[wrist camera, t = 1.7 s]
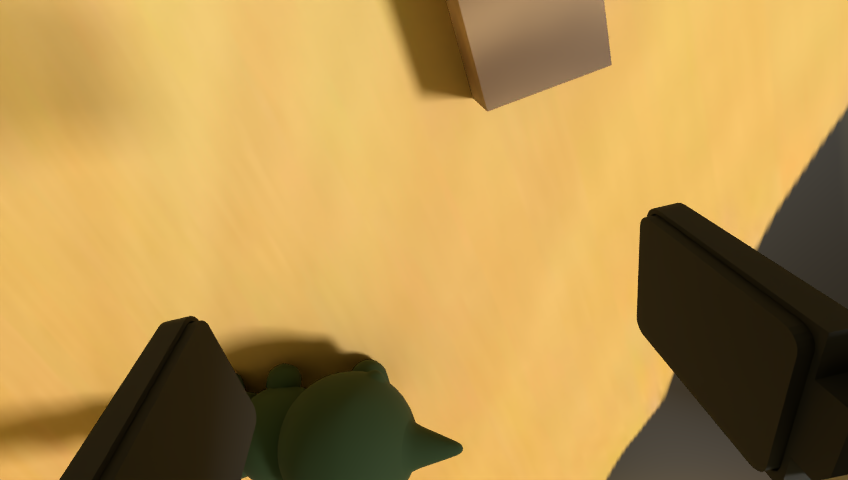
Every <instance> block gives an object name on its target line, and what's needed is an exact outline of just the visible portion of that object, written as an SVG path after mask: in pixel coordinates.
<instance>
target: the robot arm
mask: <svg viewBox="0 0 848 480" xmlns="http://www.w3.org/2000/svg"><path fill="white" fill-rule="evenodd" d="M637 322H638V326H639V328H640V330H641V332H642V334H643V335H644V336H645V338H646V339H647V340H648V341H649V342H650V344H651V345H652V346H653V347H654V348H655V350H656V351H657V352H658V353H659V355H660V356H661V357H662V358H663V359H664V361H665V362H666V363H667V364H668V365H669V367H670V368H671V369H672V370H673V372H674V373H675V374H676V375H677V376H678V378H679V379H680V380H681V381H682V382H683V383H684V385H685V386H686V387H687V389H689V391H690V392H691V393H692V395H693V396H694V397H695V398H696V399H697V401H698V402H699V403H700V404H701V405H702V407H703V408H704V409H705V410H706V412H707V413H708V414H709V415H710V416H711V418H712V419H713V420H714V421H715V423H716V424H717V425H718V426H719V427H720V429H721V430H722V431H723V432H724V433H725V435H726V436H727V437H728V438H729V439H730V441H731V442H732V443H733V444H734V445H735V447H736V448H737V449H738V450H739V451H740V453H741V454H742V455H743V456H744V458H745V459H746V460H747V461H748V462H749V464H750V465H751V466H752V467H753V468H755V469H756V470H758V471H760V472H763V471H765V472H766V473H767V474H768V475H769V477H770V478H771V479H772V480H848V309H846V308H845V307H843V306H842V305H840V304H838V303H837V302H836V301H834V300H832V299H831V298H829V297H828V296H826V295H825V294H823V293H821V292H820V291H818V290H816V289H815V288H814V287H812V286H810V285H809V284H807V283H806V282H804V281H803V280H801V279H800V278H798V277H796V276H795V275H793V274H792V273H790V272H789V271H787V270H785V269H784V268H782V267H781V266H779V265H778V264H776V263H775V262H773V261H772V260H770V259H768V258H767V257H765V256H764V255H762V254H761V253H759V252H758V251H756V250H754V249H753V248H751V247H750V246H748V245H747V244H745V243H744V242H742V241H740V240H739V239H737V238H736V237H734V236H733V235H731V234H730V233H728V232H726V231H725V230H723V229H722V228H720V227H719V226H717V225H715V224H714V223H712V222H711V221H709V220H708V219H706V218H705V217H703V216H701V215H700V214H698V213H697V212H695V211H694V210H692V209H691V208H689V207H687V206H686V205H684V204H682V203H675V204H671V205H667V206H663V207H658V208H654V209H651V210H650V211H649V212H648V215H647V217H645V218H643V219H642V220H641V224H640V244H639V271H638V299H637ZM255 425H256V411H255V407H254V405H253V403H252V402H251V400H250V398H249V396H248V395H247V393H246V391H245V389H244V387H243V386H242V384H241V382H240V380H239V379H238V377H237V375H236V373H235V371H234V370H233V368H232V366H231V364H230V363H229V361H228V359H227V357H226V355H225V354H224V352H223V350H222V348H221V347H220V345H219V343H218V341H217V339H216V338H215V336H214V334H213V332H212V331H211V329H210V327H209V325H208V324H207V323H206V322H205V321H199V320H198V319H197V318H195V317H193V316H189V317H184V318H180V319H176V320H171V321H167V322H164V323H162V324H161V325H160V326H159V327H158V329H157V330H156V332H155V334H154V335H153V337H152V338H151V340H150V341H149V343H148V344H147V346H146V347H145V349H144V351H143V352H142V354H141V355H140V357H139V358H138V360H137V361H136V363H135V364H134V366H133V367H132V369H131V371H130V372H129V374H128V375H127V377H126V378H125V380H124V381H123V383H122V384H121V386H120V387H119V389H118V391H117V392H116V394H115V395H114V397H113V398H112V400H111V401H110V403H109V404H108V406H107V407H106V409H105V411H104V412H103V414H102V415H101V417H100V418H99V420H98V421H97V423H96V424H95V426H94V427H93V429H92V431H91V432H90V434H89V435H88V437H87V438H86V440H85V441H84V443H83V444H82V446H81V447H80V449H79V451H78V452H77V454H76V455H75V457H74V458H73V460H72V461H71V463H70V464H69V466H68V467H67V469H66V471H65V472H64V474H63V475H62V477H61V478H60V480H241V477H242V474H243V470H244V466H245V462H246V459H247V455H248V451H249V448H250V444H251V440H252V437H253V433H254V429H255Z"/></svg>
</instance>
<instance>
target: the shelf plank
mask: <svg viewBox="0 0 848 480" xmlns="http://www.w3.org/2000/svg"><path fill="white" fill-rule="evenodd" d="M446 3H447V6H448V10H449V14H450V17H451V21H452V24H453V28H454V32H455V35H456V39H457V42H458V46H459V50H460V53H461V57H462V60H463V64H464V68H465V71H466V75H467V78H468V82H469V86H470V89H471V93H472V96H473V99H474V100H475V101H477V102H478V103H479V104H480V105H481V106H482V107H483V108H484V109H485V110H487V111H490V110H493V109H495V108H498V107H501V106H503V105H506V104H509V103H511V102H514V101H517V100H519V99H522V98H525V97H527V96H530V95H533V94H535V93H538V92H541V91H543V90H546V89H549V88H551V87H554V86H557V85H559V84H562V83H565V82H568V81H570V80H573V79H576V78H578V77H581V76H584V75H586V74H589V73H592V72H594V71H597V70H600V69H602V68H605V67H608V66H610V65H612V64H611V56H610V47H609V39H608V30H607V22H606V13H605V5H604V0H446Z"/></svg>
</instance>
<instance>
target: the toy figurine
mask: <svg viewBox="0 0 848 480" xmlns="http://www.w3.org/2000/svg"><path fill="white" fill-rule="evenodd" d="M236 375H237V377H238V379H239V380H240V382H241V384H242V386H243V387H244V389H245V385H244V382H243V380H242V378H241V376H240V375H238V374H236ZM266 388H267V389H266V390H263V391H261V392H260V393H258V394H256V393H252V392H246V393H247V395H248V396H249V398H250V400H251V402H252V403H253V405H254V407H255V411H256V425H255V429H254V433H253V437H252V440H251V444H250V448H249V451H248V455H247V459H246V462H245V466H244V470H243V474H242V477H241V479H242V478H245V477H247V476H248V477H249V478H251V479H252V480H408V479H409V477H410V475H411V473H412V472H413V471H415V470H417V469H419V468H422V467H425V466H427V465H430V464H433V463H436V462H439V461H442V460H445V459H448V458H451V457H453V456H456V455H458V454H460V453H461V452H462V451H463V447H462V445H461V444H460V443H458V442H456V441H454V440H452V439H449V438H447V437H445V436H443V435H440V434H438V433H436V432H433V431H431V430H429V429H427V428H424V427H422V426H420V425H419V424H417V423H416V422H415V420H414V417H413V414H412V412H411V409H410V407H409V406H408V404H407V402H406V400H405V399H404V398H403V396H402V395H401V394H400V393H399V392H398V390H397V389H396V388H395V387H393V386H392V385H391V384H390V382H389V379H388V376H387V373H386V370H385V368H384V367H383V366H382V365H381V364H380V363H378V362H377V361H374V360H364V361H362V362H360V363H358V364H357V365H356V366H355V367H354V368H353V370H352V371H348V372H341V373H336V374H332V375H329V376H326V377H324V378H322V379H320V380H318V381H317V382H315V383H313V384H312V385H310V386H309V387H308V388H307V389H306V388H303V387H301V374H300V372H299V370H298V368H297V367H295V366H293V365H289V364H284V363H283V364H280V365H278V366H276V367H274V368H273V369H272V370H271V371H270V372H269V375H268V377H267V383H266Z"/></svg>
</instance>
